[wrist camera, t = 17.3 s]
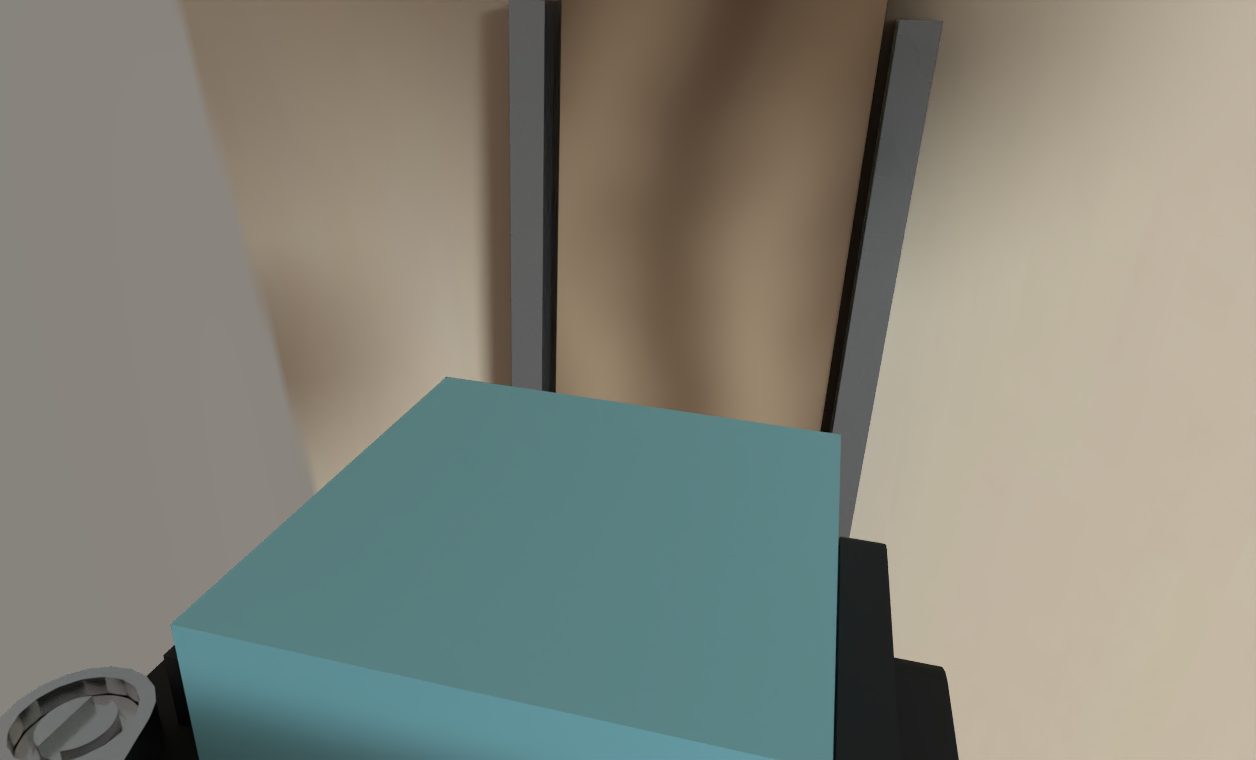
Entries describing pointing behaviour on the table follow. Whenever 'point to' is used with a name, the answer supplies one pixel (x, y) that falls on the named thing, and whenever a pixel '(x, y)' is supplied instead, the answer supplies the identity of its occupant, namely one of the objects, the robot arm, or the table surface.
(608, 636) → the teal block
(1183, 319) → the table surface
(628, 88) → the tan track base
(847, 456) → the guide rails
